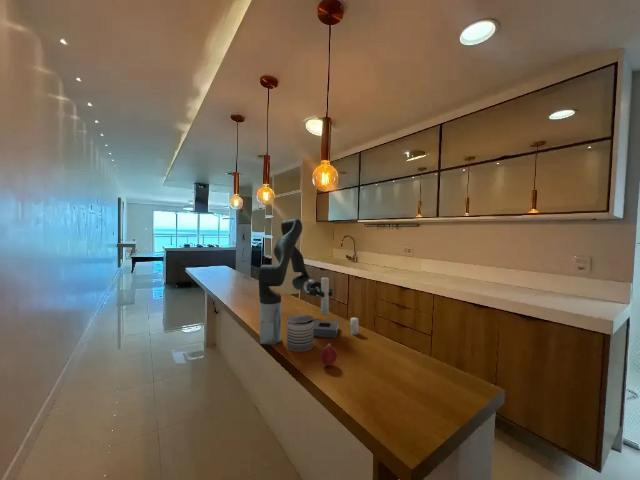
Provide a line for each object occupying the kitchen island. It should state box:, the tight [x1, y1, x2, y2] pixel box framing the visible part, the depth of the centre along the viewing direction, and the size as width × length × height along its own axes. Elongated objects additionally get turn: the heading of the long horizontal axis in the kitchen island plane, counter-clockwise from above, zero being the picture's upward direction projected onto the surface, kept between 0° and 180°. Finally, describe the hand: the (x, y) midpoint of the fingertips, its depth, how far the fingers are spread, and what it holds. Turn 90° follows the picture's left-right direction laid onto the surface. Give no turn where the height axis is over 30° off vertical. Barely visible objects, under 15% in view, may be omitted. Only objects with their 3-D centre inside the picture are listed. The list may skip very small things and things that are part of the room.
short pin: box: [350, 317, 359, 336], centre depth 130 cm, size 4×4×7 cm
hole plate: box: [313, 319, 339, 339], centre depth 132 cm, size 12×12×4 cm
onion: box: [320, 343, 338, 367], centre depth 99 cm, size 6×6×8 cm
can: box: [286, 314, 315, 352], centre depth 116 cm, size 11×11×12 cm
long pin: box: [320, 277, 330, 316], centre depth 131 cm, size 4×4×17 cm
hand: (327, 294), depth 129 cm, fingers closed on long pin, 3 cm apart
